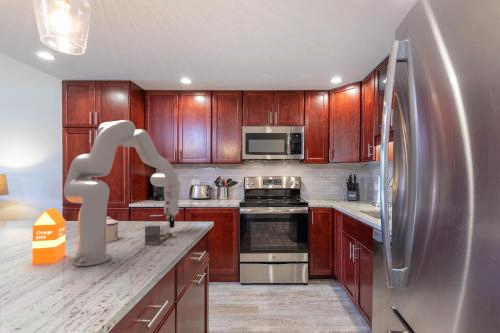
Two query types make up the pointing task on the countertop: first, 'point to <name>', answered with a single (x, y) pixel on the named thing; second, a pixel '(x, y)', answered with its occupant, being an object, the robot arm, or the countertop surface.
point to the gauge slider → (164, 228)
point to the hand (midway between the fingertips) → (171, 227)
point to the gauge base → (154, 235)
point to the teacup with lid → (112, 230)
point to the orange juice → (49, 237)
